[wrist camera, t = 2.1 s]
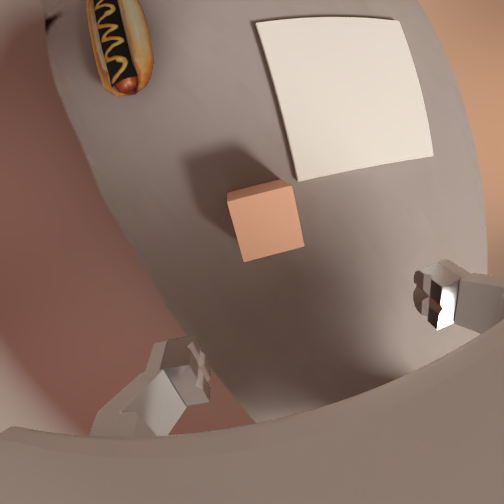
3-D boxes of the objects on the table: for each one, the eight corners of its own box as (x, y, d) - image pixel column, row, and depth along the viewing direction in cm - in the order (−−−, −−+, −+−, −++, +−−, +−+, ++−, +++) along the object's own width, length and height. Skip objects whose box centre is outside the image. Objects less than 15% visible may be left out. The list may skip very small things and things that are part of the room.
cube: (291, 229, 27) (304, 246, 23) (240, 242, 28) (243, 262, 23) (280, 179, 26) (291, 185, 21) (227, 192, 26) (226, 201, 21)
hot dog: (140, -12, 17) (127, -34, 13) (169, 86, 22) (156, 73, 17) (97, 8, 17) (78, -10, 13) (120, 107, 22) (98, 100, 17)
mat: (430, 155, 26) (433, 156, 25) (297, 180, 26) (298, 181, 25) (396, 22, 20) (398, 20, 20) (255, 25, 20) (255, 22, 20)
